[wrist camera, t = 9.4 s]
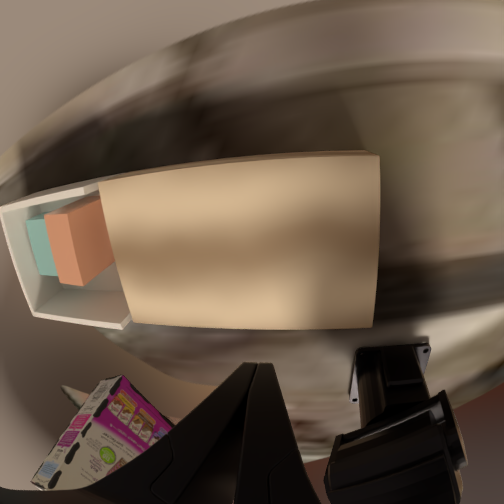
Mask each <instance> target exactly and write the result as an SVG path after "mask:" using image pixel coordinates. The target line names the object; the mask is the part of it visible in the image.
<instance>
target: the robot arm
mask: <svg viewBox="0 0 504 504" xmlns="http://www.w3.org/2000/svg"><path fill="white" fill-rule="evenodd" d="M426 348H427V349H426ZM424 349H426V350H424ZM430 352H431V347H430V345H429V344H428V343H422V344H411V345H398V346H384V347H366V348H359V349H357V351H356V353H355V361H354V368H353V376H352V383H351V390H350V396H349V400H350V402H351V403H354V404H355V403H359V408H360V420H361V429H358V430H355V431H352V432H350V433H347V434H341V435H338V436H336V438H335V442H334V445H333V449H332V452H331V455H330V459H329V462H328V465H327V469H326V473H325V476H324V484H325V489H326V493H327V496H328V499H329V501H330V503H331V504H459V503H460V499H461V494H462V490H463V483H462V479H461V475H460V471H459V470H460V469H462V468H464V467H466V466H468V463H467V457H466V452H465V447H464V442H463V439H462V435H461V432H460V429H459V426H458V423H457V420H456V417H455V414H454V412H453V409H452V407H451V404H450V402H449V399H448V397H447V394H446V392H445V390H442V391H441V392H439V393H438V394H437V395H435V396H434V397H432V398H430V394H429V391H428V388H427V385H426V382H425V378H424V372H425V369H426V366H427V363H428V359H429V356H430ZM361 353H364V354H363V355H360V354H361ZM354 398H355V399H354ZM233 500H234V504H321V502H320V500H319V498H318V496H317V494H316V492H315V491H314V489H313V486H312V484H311V482H310V480H309V478H308V475H307V472H306V470H305V467H304V464H303V461H302V458H301V455H300V452H299V450H298V446H297V442H296V439H295V436H294V432H293V429H292V426H291V423H290V419H289V416H288V413H287V409H286V406H285V403H284V399H283V396H282V393H281V389H280V386H279V383H278V379H277V376H276V373H275V369H274V366H273V364H272V363H263V362H260V363H259V364H258V363H256V362H243V363H242V364H241V365H240V366H239V367H238V368H237V369H236V370H235V371H234V372H233V373H232V374H231V375H230V376H229V377H228V378H226V379H225V380H224V381H223V382H222V383H221V384H220V385H219V386H218V387H217V388H216V389H215V390H214V391H213V392H212V393H211V394H210V395H208V396H207V398H205V399H204V400H203V401H202V402H201V403H200V404H199V405H198V406H197V407H195V408H194V409H193V410H192V411H191V412H190V413H189V414H188V415H187V416H186V417H184V418H183V419H182V420H181V421H180V422H179V423H178V424H176V425H175V426H174V427H173V428H172V429H171V430H170V431H168V434H165V435H164V436H163V437H161V438H160V439H159V440H158V441H157V442H155V443H154V444H153V445H152V446H150V447H149V448H148V449H147V450H145V451H144V452H143V453H141V454H140V455H138V456H137V457H135V458H134V459H133V460H131V461H130V462H128V463H126V464H125V465H123V466H122V467H120V468H118V469H117V470H115V471H114V472H112V473H110V474H109V475H107V476H105V477H104V478H102V479H100V480H98V481H97V482H95V483H93V484H91V485H88V486H85V487H82V488H78V489H70V490H38V491H37V490H33V491H32V490H10V489H6V488H2V487H0V504H232V503H233Z"/></svg>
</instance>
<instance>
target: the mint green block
mask: <svg viewBox="0 0 504 504" xmlns="http://www.w3.org/2000/svg"><path fill="white" fill-rule="evenodd" d="M47 213H49V212H43V213H41V214H39V215H36V216H34V217H32V218H30V219H28V220H26V225H27V230H28V234H29V238H30V242H31V246H32V249H33V253H34V257H35V260H36V264H37V267H38V270H39V274H40V275H48V276H58V274H57V270H56V266H55V263H54V259H53V255H52V251H51V247H50V242H49V238H48V233H47V229H46V224H45V219H44V215H45V214H47Z"/></svg>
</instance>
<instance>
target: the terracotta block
mask: <svg viewBox="0 0 504 504" xmlns="http://www.w3.org/2000/svg"><path fill="white" fill-rule="evenodd" d="M44 219H45V224H46V229H47V233H48V238H49V242H50V247H51V251H52V255H53V259H54V263H55V266H56V270H57V274H58V277H59V281H60V283H64V284H70V285H77V286H85V285H86V284H87V283H88V282H90V281H91V280H92V279H93V278H95V277H96V276H97V275H98V274H100V273H101V272H102V271H103V270H105V269H106V268H107V267H108V266H110V265H111V264H112V263H113V262H115V258H114V255H113V251H112V247H111V243H110V239H109V234H108V230H107V226H106V221H105V217H104V212H103V207H102V203H101V198H100V195H98V196H87V197H84V198H82V199H79V200H77V201H74V202H72V203H70V204H67V205H65V206H63V207H60V208H58V209H56V210H54V211H51V212H49V213H47V214H45V215H44Z"/></svg>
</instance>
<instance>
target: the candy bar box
mask: <svg viewBox="0 0 504 504" xmlns="http://www.w3.org/2000/svg"><path fill="white" fill-rule="evenodd" d="M173 427H174V425H173V424H172V423H171V422H169V421H168V420H167V419H166V418H165V417H164V416H163V415H162V414H161V413H160V412H159V411H158V410H157V409H156V408H155V407H154V406H153V405H152V404H151V403H150V402H149V401H148V400H147V399H146V398H145V397H144V396H143V395H142V394H141V393H140V392H139V391H138V390H137V389H136V388H135V387H134V386H133V385H132V384H131V383H130V382H129V381H128V380H127V378H126V377H125V376H124V375H119V376H115V377H112V378H107V379H103V380H101V381H100V382H99V383H98V384H97V386H96V387H95V389H94V390H93V391H92V393H91V394H90V396H89V397H88V398H87V400H86V401H85V403H84V404H83V405H82V407H81V408H80V410H79V411H78V412H77V414H76V415H75V417H74V418H73V419H72V421H71V422H70V424H69V425H68V427H67V428H66V430H65V431H64V433H63V434H62V435H61V437H60V438H59V440H58V441H57V443H56V444H55V446H54V447H53V449H52V450H51V451H50V453H49V454H48V456H47V457H46V459H45V460H44V462H43V463H42V465H41V466H40V468H39V469H38V471H37V472H36V474H35V475H34V477H33V479H32V480H31V482H32V484H34V485H35V486H36V487H37V488H39V489H40V490H70V489H78V488H82V487H85V486H88V485H91V484H93V483H95V482H97V481H98V480H100V479H102V478H104V477H105V476H107V475H109V474H110V473H112V472H114V471H115V470H117V469H118V468H120V467H122V466H123V465H125V464H126V463H128V462H130V461H131V460H133V459H134V458H135V457H137V456H138V455H140V454H141V453H143V452H144V451H145V450H147V449H148V448H149V447H150V446H152V445H153V444H154V443H155V442H157V441H158V440H159V439H160V438H161V437H163V436H164V435H165V434H168V431H170V430H171V429H172V428H173Z"/></svg>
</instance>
